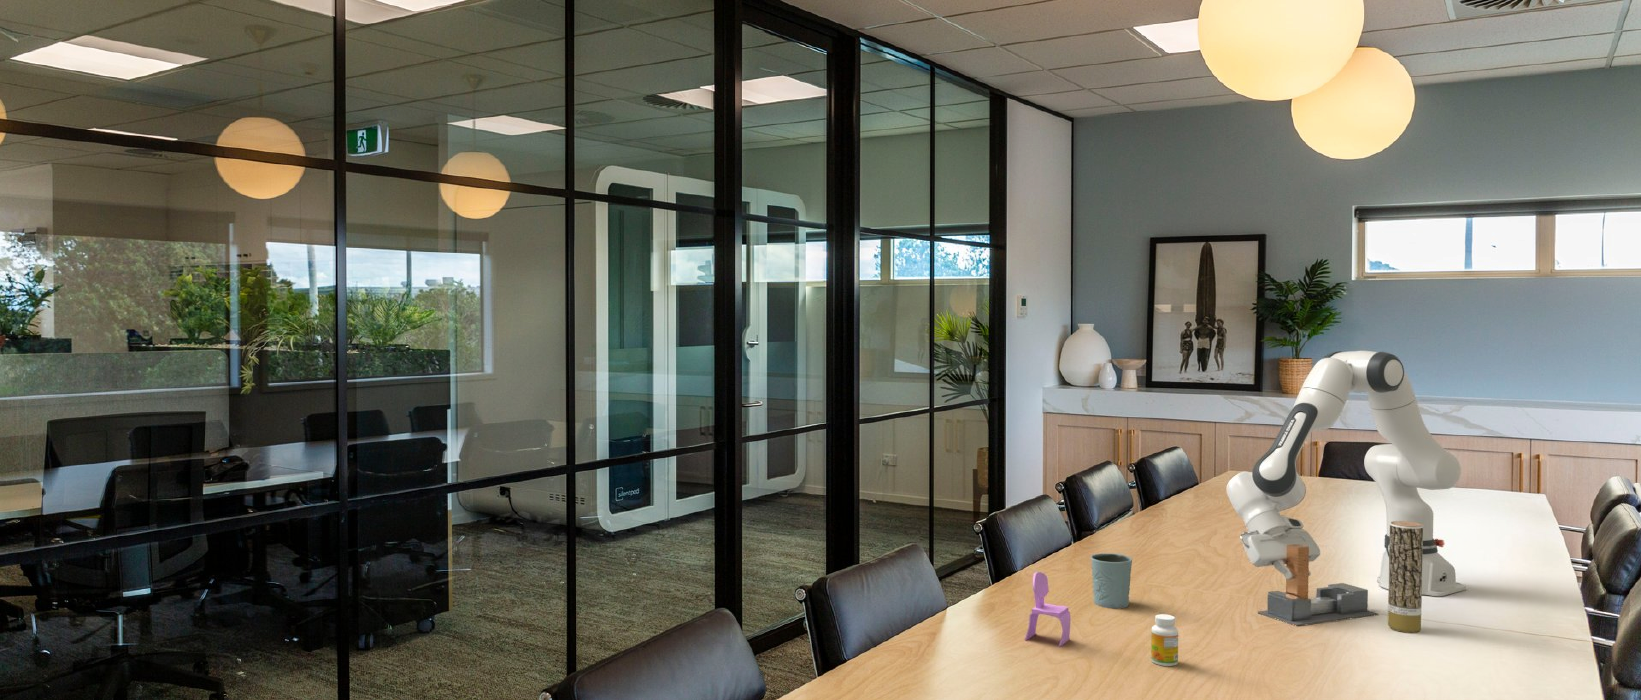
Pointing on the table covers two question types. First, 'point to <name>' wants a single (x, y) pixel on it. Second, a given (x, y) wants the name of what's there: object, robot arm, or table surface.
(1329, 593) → the grey u-shaped block
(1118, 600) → the grey-green cup
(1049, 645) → the table surface
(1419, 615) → the paper tube
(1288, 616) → the socket
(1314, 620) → the grey rectangular plate
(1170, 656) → the supplement bottle
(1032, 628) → the toy chair
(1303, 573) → the brown piece
